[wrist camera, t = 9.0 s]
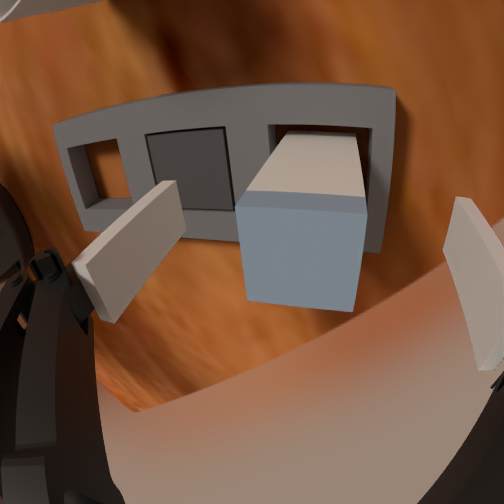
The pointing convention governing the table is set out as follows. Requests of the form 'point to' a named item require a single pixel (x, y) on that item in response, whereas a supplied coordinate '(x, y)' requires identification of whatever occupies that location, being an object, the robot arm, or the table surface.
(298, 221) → the plug
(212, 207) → the panel
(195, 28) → the table surface
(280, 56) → the table surface
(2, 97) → the table surface
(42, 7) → the cup
